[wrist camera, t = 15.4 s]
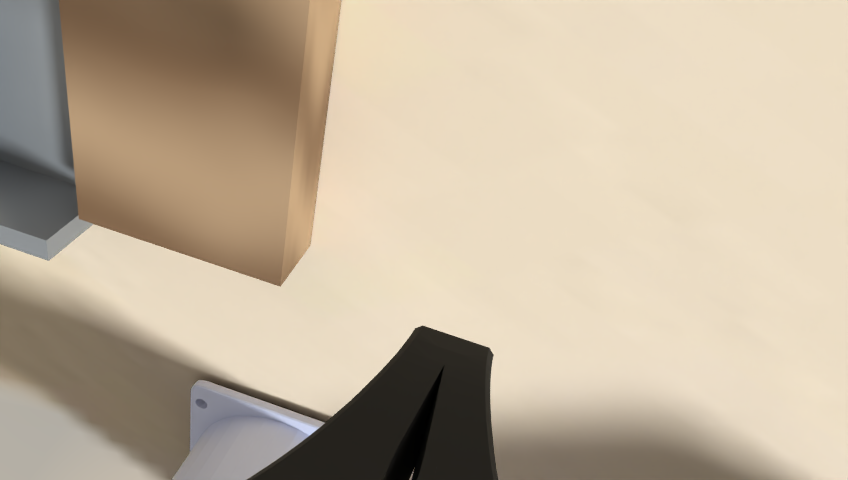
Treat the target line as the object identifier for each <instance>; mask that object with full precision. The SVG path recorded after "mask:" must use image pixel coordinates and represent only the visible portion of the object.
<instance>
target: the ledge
mask: <svg viewBox="0 0 848 480" xmlns="http://www.w3.org/2000/svg"><path fill="white" fill-rule="evenodd" d="M340 7H341V0H59V9H60V19H61V30H62V41H63V52H64V63H65V74H66V85H67V96H68V107H69V118H70V128H71V139H72V150H73V161H74V172H75V183H76V194H77V205H78V216H79V219H80V220H83V221H86V222H89V223H92V224H95V225H98V226H101V227H104V228H107V229H110V230H113V231H116V232H119V233H122V234H125V235H128V236H131V237H134V238H137V239H140V240H143V241H146V242H149V243H152V244H155V245H158V246H161V247H164V248H167V249H170V250H173V251H176V252H179V253H182V254H185V255H188V256H191V257H194V258H197V259H200V260H203V261H206V262H209V263H212V264H215V265H218V266H221V267H224V268H227V269H230V270H233V271H236V272H239V273H242V274H245V275H248V276H251V277H254V278H257V279H260V280H263V281H266V282H269V283H271V284H274V285H277V286H281V285H282V284H283V282H284V281H285V280H286V278H287V277H288V275H289V274H290V273H291V271H292V270H293V268H294V267H295V266H296V264H297V263H298V262H299V260H300V259H301V257H302V256H303V255H304V253H305V252H306V251H307V249H308V248H309V246H310V243H311V235H312V227H313V219H314V211H315V203H316V195H317V188H318V180H319V172H320V164H321V156H322V148H323V140H324V133H325V125H326V117H327V109H328V101H329V93H330V85H331V77H332V70H333V62H334V54H335V46H336V38H337V30H338V22H339V15H340Z"/></svg>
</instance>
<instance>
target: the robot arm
mask: <svg viewBox="0 0 848 480" xmlns="http://www.w3.org/2000/svg"><path fill="white" fill-rule="evenodd" d="M492 360H493V353H492V352H491V350H490V348H488V347H485V346H482V345H479V344H476V343H473V342H470V341H467V340H464V339H461V338H458V337H455V336H452V335H449V334H446V333H443V332H440V331H437V330H434V329H431V328H428V327H425V326H421V327H418V328H415V330H414V331H413V333H412V334H411V336H410V337H409V339H408V340H407V341H406V342H405V344H404V345H403V346H402V348H401V349H400V350H399V351H398V352H397V354H396V355H395V356H394V357H393V358H392V359H391V360H390V362H389V363H388V364H387V365H386V366H385V367H384V368H383V369H382V370H381V371H380V372H379V373H378V374H377V375H376V376H375V377H374V378H373V379H372V380H371V381H370V382H369V383H368V384H367V385H366V386H365V387H364V388H363V389H362V390H361V391H360V392H359V393H358V394H357V395H356V396H355V397H354V398H353V399H352V400H351V401H350V402H349V403H348V404H346V405H345V406H344V407H343V408H342V409H341V410H339V411H338V412H337V413H336V414H335V415H334V416H333V417H331V418H330V419H329V420H328V421H327V422H326V423H324V422H322V421H319V420H316V419H313V418H310V417H308V416H305V415H302V414H299V413H296V412H293V411H291V410H288V409H285V408H282V407H279V406H276V405H274V404H271V403H268V402H265V401H262V400H260V399H257V398H254V397H251V396H248V395H245V394H243V393H240V392H237V391H234V390H231V389H228V388H226V387H223V386H220V385H217V384H214V383H212V382H209V381H205V380H198V381H197V382H195V384H194V385H193V386H192V388H191V407H190V453H189V455H188V456H187V458H186V459H185V461H184V462H183V464H182V465H181V466H180V468H179V469H178V471H177V472H176V474H175V475H174V477H173V478H172V480H409V478H410V476H411V474H412V472H413V470H414V473H413V477H412V480H498V477H497V471H496V463H495V456H494V447H493V437H492V426H491V411H490V378H491V366H492ZM414 468H415V469H414Z"/></svg>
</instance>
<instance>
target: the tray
mask: <svg viewBox="0 0 848 480" xmlns="http://www.w3.org/2000/svg"><path fill="white" fill-rule="evenodd" d="M92 225H93V224H92V223H89V222H86V221H83V220H80V219H79V216H78V205H77V194H76V183H75V172H74V161H73V150H72V139H71V128H70V118H69V107H68V96H67V85H66V74H65V63H64V52H63V41H62V30H61V19H60V9H59V0H0V244H1V245H4V246H7V247H10V248H13V249H16V250H19V251H22V252H25V253H28V254H30V255H33V256H36V257H39V258H42V259H45V260H48V261H49V260H50V259H51V258H53V257H54V256H55V255H56V254H58V253H59V252H60V251H61V250H62V249H64V248H65V247H66V246H67V245H68V244H70V243H71V242H72V241H73V240H75V239H76V238H77V237H78V236H79V235H81V234H82V233H83V232H84V231H85V230H87V229H88V228H89V227H90V226H92Z"/></svg>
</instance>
